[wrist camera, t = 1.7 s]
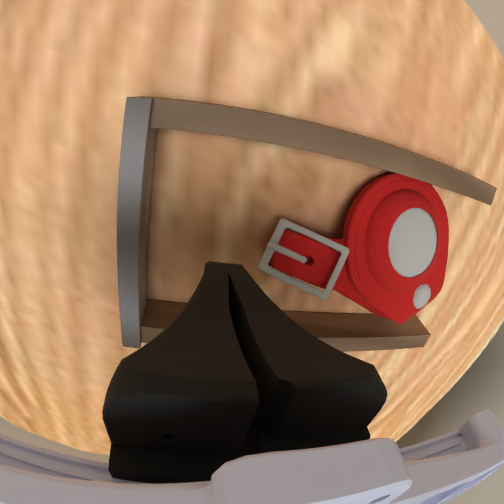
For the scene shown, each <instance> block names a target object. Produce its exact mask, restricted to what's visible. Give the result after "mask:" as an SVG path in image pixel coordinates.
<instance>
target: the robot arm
mask: <svg viewBox="0 0 504 504" xmlns="http://www.w3.org/2000/svg"><path fill="white" fill-rule="evenodd" d="M386 398H387V390H386V387H385V385H384V383H383V382H382V380H381V378H380V376H379V374H378V372H377V370H376V368H375V367H374V365H372V364H369V363H367V362H364V361H362V360H360V359H357V358H355V357H352V356H350V355H348V354H345V353H343V352H342V351H340V350H338V349H336V348H334V347H332V346H330V345H328V344H327V343H325V342H323V341H321V340H320V339H318V338H317V337H315V336H314V335H312V334H311V333H309V332H308V331H306V330H305V329H303V328H302V327H301V326H299V325H298V324H297V323H296V322H294V321H293V320H292V319H291V318H290V317H288V316H287V315H286V314H285V313H284V312H283V311H282V310H281V309H280V308H278V307H277V306H276V305H275V304H274V303H273V302H272V301H271V299H270V298H269V297H268V296H267V295H266V294H265V293H264V292H263V291H262V289H261V288H260V287H259V286H258V285H257V284H256V282H255V281H254V280H253V279H252V277H251V276H250V275H249V273H248V272H247V271H246V270H245V268H244V267H243V266H242V265H238V264H228V263H218V262H207V263H206V264H205V270H204V274H203V277H202V279H201V281H200V283H199V285H198V287H197V289H196V291H195V292H194V294H193V295H192V297H191V298H190V300H189V302H188V303H187V304H186V306H185V307H184V308H183V310H182V311H181V312H180V313H179V315H178V316H177V317H176V318H175V319H174V320H173V321H172V322H171V323H170V324H169V325H168V326H167V327H166V328H165V329H164V330H163V331H162V332H161V333H160V334H159V335H157V336H156V337H155V338H154V339H152V340H151V341H150V342H149V343H147V344H146V345H145V346H143V347H142V348H140V349H139V350H137V351H135V352H134V353H132V354H131V355H129V356H127V357H126V358H124V359H122V360H121V362H120V364H119V366H118V367H117V369H116V371H115V373H114V375H113V377H112V379H111V382H110V384H109V387H108V390H107V393H106V397H105V402H104V406H103V411H102V412H103V420H104V424H105V427H106V429H107V432H108V435H109V438H110V441H111V450H110V458H109V463H104V462H99V461H93V460H89V459H84V458H80V457H76V456H71V455H67V454H63V453H59V452H56V451H52V450H48V449H45V448H41V447H38V446H35V445H32V444H29V443H25V442H23V441H20V440H17V439H14V438H11V437H8V436H5V435H3V434H0V504H443V503H445V502H447V501H449V500H451V499H453V498H455V497H456V496H458V495H460V494H462V493H463V492H465V491H467V490H469V489H470V488H472V487H474V486H475V485H477V484H478V483H479V482H481V481H482V480H484V479H485V478H486V477H488V476H489V475H490V474H492V473H493V472H494V471H495V470H497V469H498V468H499V467H500V466H502V465H503V464H504V431H503V429H502V428H501V426H500V424H499V423H498V422H497V420H496V418H495V416H494V415H493V413H492V412H491V410H490V409H487V410H485V411H482V412H480V413H477V414H475V415H473V416H472V417H470V418H469V419H467V420H466V421H465V422H464V423H463V424H462V426H461V427H460V428H459V429H458V430H456V431H453V432H451V433H448V434H445V435H442V436H440V437H436V438H434V439H431V440H428V441H424V442H421V443H418V444H415V445H412V446H408V447H405V448H401V449H399V448H398V446H397V444H396V443H395V442H394V441H393V439H390V438H375V439H369V438H370V433H369V431H368V428H367V426H368V425H369V423H370V422H371V421H372V420H373V419H374V417H375V416H376V415H377V414H378V412H379V411H380V410H381V408H382V406H383V405H384V403H385V401H386Z"/></svg>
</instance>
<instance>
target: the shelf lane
mask: <svg viewBox="0 0 504 504" xmlns="http://www.w3.org/2000/svg"><path fill="white" fill-rule="evenodd" d="M158 128H161V129H172V130H181V131H190V132H199V133H207V134H214V135H221V136H228V137H235V138H242V139H248V140H254V141H260V142H265V143H271V144H276V145H282V146H287V147H292V148H297V149H302V150H306V151H311V152H316V153H320V154H325V155H329V156H333V157H338V158H342V159H346V160H350V161H354V162H358V163H362V164H365V165H369V166H373V167H377V168H380V169H384V170H387V171H391V172H394V173H398V174H401V175H405V176H408V177H411V178H414V179H418V180H421V181H424V182H427V183H430V184H433V185H436V186H439V187H442V188H445V189H448V190H451V191H454V192H456V193H459V194H462V195H465V196H468V197H470V198H473V199H476V200H478V201H481V202H483V203H486V204H488V205H491V204H492V201H493V198H494V195H495V192H496V189H497V188H496V187H494V186H492V185H490V184H488V183H486V182H484V181H482V180H480V179H478V178H476V177H474V176H471V175H469V174H467V173H465V172H462V171H460V170H458V169H455V168H453V167H450V166H448V165H445V164H443V163H440V162H438V161H435V160H433V159H430V158H427V157H425V156H422V155H419V154H417V153H414V152H411V151H408V150H405V149H402V148H400V147H397V146H394V145H391V144H388V143H384V142H381V141H378V140H375V139H372V138H368V137H365V136H362V135H358V134H355V133H351V132H348V131H344V130H341V129H337V128H333V127H329V126H325V125H321V124H317V123H313V122H309V121H305V120H301V119H296V118H292V117H287V116H282V115H277V114H272V113H267V112H262V111H257V110H251V109H245V108H239V107H233V106H226V105H220V104H212V103H205V102H197V101H188V100H179V99H168V98H156V97H127V100H126V107H125V115H124V123H123V133H122V143H121V154H120V168H119V185H118V212H117V263H118V290H119V307H120V321H121V332H122V343H123V346H125V347H133V348H140V347H141V342H144V343H149V342H150V341H151V340H152V339H154V338H155V337H156V336H157V335H159V334H160V333H161V332H162V331H163V330H164V329H165V328H166V327H167V326H168V325H169V324H170V323H171V322H172V321H173V320H174V319H175V318H176V317H177V316H178V315H179V313H180V312H181V311H182V310H183V308H184V307H185V306H186V304H187V303H178V302H168V301H159V300H150V299H147V259H148V235H149V217H150V203H151V190H152V179H153V169H154V159H155V150H156V142H157V134H158ZM283 312H284V313H285V314H286V315H287V316H288V317H290V318H291V319H292V320H293V321H294V322H296V323H297V324H298V325H299V326H301V327H302V328H303V329H305V330H306V331H308V332H309V333H311V334H312V335H314V336H315V337H317V338H318V339H320V340H321V341H323V342H325V343H327V344H328V345H330V346H332V347H334V348H336V349H338V350H340V351H342V352H344V351H371V350H389V349H404V348H416V347H424V345H425V344H426V342H427V340H428V339H429V337H430V335H431V334H430V333H429V332H428V330H427V329H426V328H425V327H424V325H423V324H422V323H421V321H420V320H419V319H418V317H417V316H416V315H413V316H412V317H411V318H410V319H408V320H407V321H406V322H405V323H403V324H399V325H398V324H397V323H396V322H394V321H393V320H388V319H385V318H382V317H380V316H378V315H376V314H348V313H319V312H298V311H283Z"/></svg>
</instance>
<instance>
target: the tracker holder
mask: <svg viewBox="0 0 504 504" xmlns="http://www.w3.org/2000/svg"><path fill="white" fill-rule="evenodd" d="M286 229H290V230H293V231H295V232H297V233H294V232H292V231H288V230H286ZM448 242H449V228H448V218H447V213H446V209H445V207H444V204H443V202H442V200H441V198H440V196H439V195H438V193H437V192H436V190H435V189H434V188H433V187H432V186H431V185H430V183H427V182H424V181H421V180H418V179H414V178H411V177H408V176H405V175H401V174H398V173H391V174H385V175H382V176H380V177H378V178H376V179H374V180H373V181H371V182H370V183H369V184H367V185H366V186H365V187H364V188H363V189H362V191H361V192H360V193H359V194H358V195H357V197H356V198H355V200H354V201H353V203H352V205H351V207H350V209H349V211H348V214H347V217H346V220H345V224H344V229H343V237H342V238H341V239H333V238H325V237H323V236H321V235H319V234H317V233H315V232H312V231H310V230H308V229H306V228H304V227H301V226H299V225H297V224H295V223H292V222H290V221H288V220H286V219H283V218H282V219H280V220H279V222H278V225H277V227H276V229H275V231H274V233H273V235H272V237H271V239H270V241H269V242H268V243H267V248H266V250H265V252H264V254H263V256H262V258H261V260H260V262H259V264H258V269H260V270H262V271H264V272H266V273H268V274H270V275H272V276H274V277H276V278H278V279H280V280H282V281H284V282H286V283H288V284H290V285H293V286H295V287H297V288H299V289H301V290H303V291H305V292H307V293H309V294H311V295H313V296H315V297H317V298H319V299H321V300H324V301H325V300H327V299H328V297H329V295H330V293H331V291H332V289H333V290H335V291H337V292H338V293H340V294H342V295H344V296H345V297H347V298H349V299H351V300H352V301H354V302H356V303H358V304H359V305H361V306H363V307H364V308H366V309H367V310H369V311H370V312H372V313H374V314H376V315H378V316H380V317H382V318H385V319H388V320H393V321H394V322H396V323H397V324H398V325H399V324H403V323H405V322H406V321H407V320H408V319H410V318H411V317H412V316H413V315H415V314H416V313H417V312H418V311H420V310H421V309H422V308H423V307H425V306H426V305H427V304H428V303H430V302H431V301H432V300H433V299H434V298H435V297H436V296H437V295H438V293H439V292H440V291H441V288H442V286H443V282H444V277H445V271H446V264H447V257H448ZM269 265H270V266H272V267H274V268H276V269H277V270H279V271H282V272H284V273H286V274H288V275H290V276H293V277H295V278H298V279H300V280H303V281H305V282H308V283H310V284H313V285H316V286H318V287H321V288H324V289H325V291H323V292H321V291H319V290H317V289H315V288H312V287H310V286H308V285H306V284H304V283H302V282H300V281H298V280H296V279H294V278H292V277H290V276H287V275H285V274H283V273H281V272H279V271H277V270H275V269H273V268H271V267H270V266H269Z"/></svg>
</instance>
